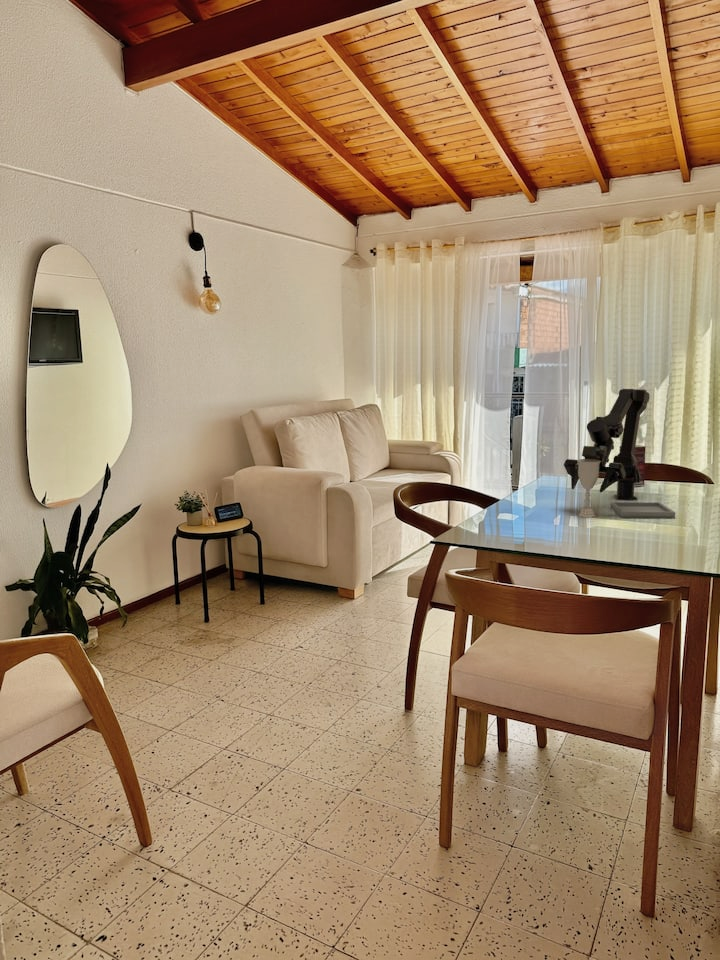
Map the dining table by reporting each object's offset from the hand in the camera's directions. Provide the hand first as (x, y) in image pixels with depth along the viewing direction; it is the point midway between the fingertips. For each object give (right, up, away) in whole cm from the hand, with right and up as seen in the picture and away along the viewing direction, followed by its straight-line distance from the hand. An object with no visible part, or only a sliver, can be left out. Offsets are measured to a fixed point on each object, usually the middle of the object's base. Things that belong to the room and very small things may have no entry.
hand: (586, 490), depth 217 cm
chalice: (+1, -8, +3) cm, 9 cm away
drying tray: (+19, -7, +4) cm, 21 cm away
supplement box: (+34, +1, +49) cm, 60 cm away
